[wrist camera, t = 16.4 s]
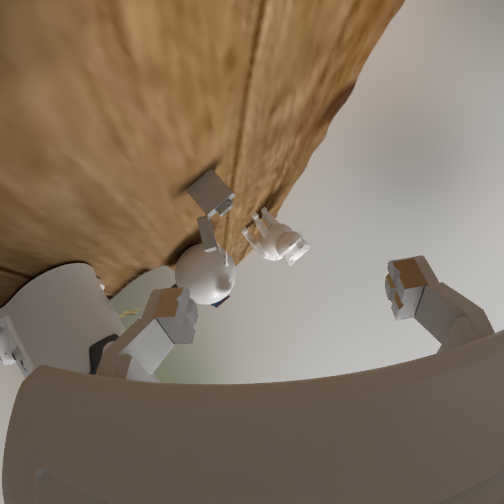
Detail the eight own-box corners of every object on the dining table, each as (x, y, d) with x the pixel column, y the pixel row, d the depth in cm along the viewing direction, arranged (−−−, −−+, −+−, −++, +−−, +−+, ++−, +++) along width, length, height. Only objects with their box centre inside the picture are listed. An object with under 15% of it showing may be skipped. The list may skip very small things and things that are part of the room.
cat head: (152, 264, 47) (196, 319, 46) (209, 219, 50) (253, 271, 49) (166, 277, 61) (200, 319, 60) (210, 242, 65) (244, 282, 63)
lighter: (211, 168, 33) (254, 215, 32) (213, 172, 35) (254, 217, 34) (167, 206, 33) (207, 255, 32) (172, 209, 35) (210, 256, 34)
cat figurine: (263, 220, 92) (296, 258, 91) (239, 239, 90) (272, 278, 89) (276, 189, 68) (321, 239, 67) (243, 214, 66) (290, 267, 64)
